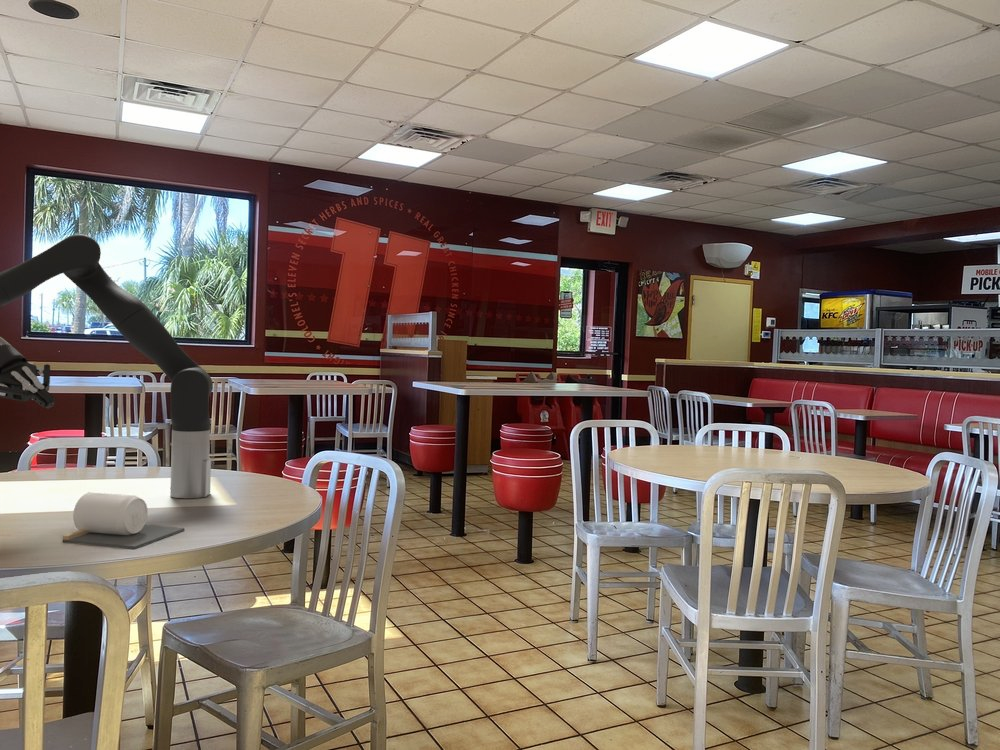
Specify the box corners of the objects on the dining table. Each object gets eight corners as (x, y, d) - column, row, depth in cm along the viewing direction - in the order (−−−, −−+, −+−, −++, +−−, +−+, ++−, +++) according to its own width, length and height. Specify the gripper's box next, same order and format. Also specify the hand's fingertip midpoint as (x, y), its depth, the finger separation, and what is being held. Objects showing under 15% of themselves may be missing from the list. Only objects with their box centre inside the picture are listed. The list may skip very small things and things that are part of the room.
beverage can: (93, 484, 160) (143, 488, 157) (103, 517, 163) (153, 520, 161) (65, 506, 153) (118, 510, 150) (77, 539, 156) (128, 544, 153)
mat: (62, 541, 150) (62, 535, 150) (118, 524, 166) (118, 518, 166) (134, 548, 147) (134, 542, 147) (184, 530, 163) (184, 524, 163)
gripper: (-34, 357, 162) (23, 407, 160) (25, 333, 173) (79, 380, 170) (-33, 380, 167) (22, 429, 165) (24, 356, 177) (77, 402, 175)
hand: (51, 404), depth 167 cm, fingers closed
